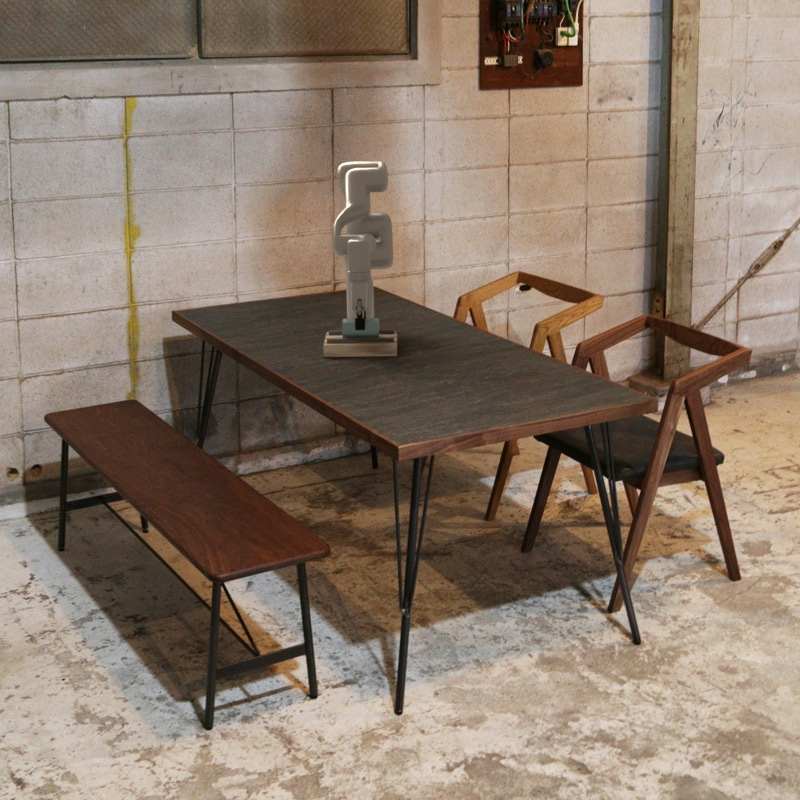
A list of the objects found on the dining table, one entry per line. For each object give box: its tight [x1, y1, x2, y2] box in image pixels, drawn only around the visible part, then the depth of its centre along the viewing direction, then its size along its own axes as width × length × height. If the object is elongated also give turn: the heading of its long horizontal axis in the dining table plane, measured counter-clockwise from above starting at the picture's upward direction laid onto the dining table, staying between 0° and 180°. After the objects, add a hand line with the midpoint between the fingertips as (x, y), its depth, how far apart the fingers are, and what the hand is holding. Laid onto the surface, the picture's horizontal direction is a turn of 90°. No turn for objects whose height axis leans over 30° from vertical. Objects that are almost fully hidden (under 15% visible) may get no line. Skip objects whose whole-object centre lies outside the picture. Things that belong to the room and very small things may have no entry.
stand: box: [323, 329, 398, 358], centre depth 431 cm, size 18×24×5 cm
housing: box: [341, 317, 380, 338], centre depth 430 cm, size 12×6×6 cm, turn 90°
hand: (360, 326), depth 430 cm, fingers open, 9 cm apart
